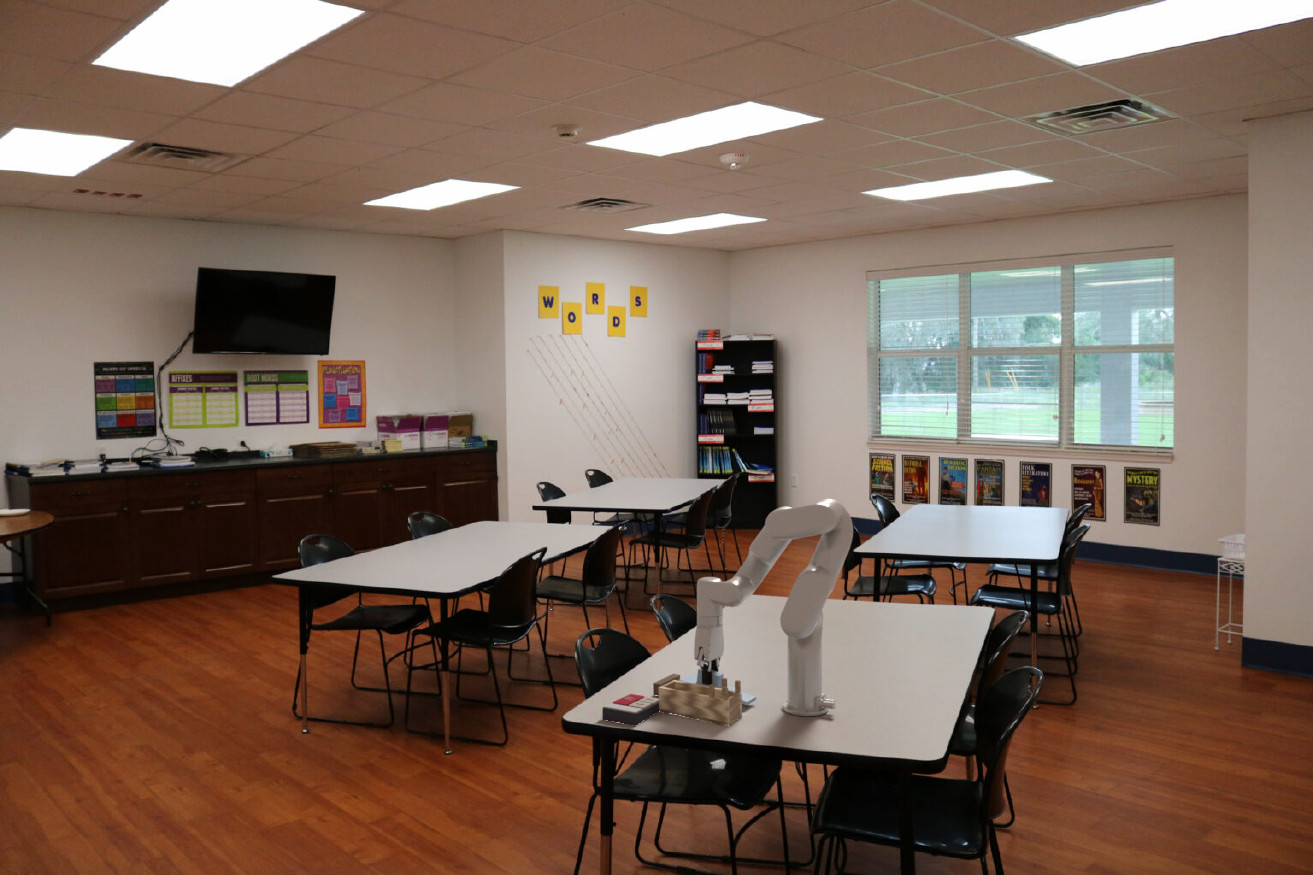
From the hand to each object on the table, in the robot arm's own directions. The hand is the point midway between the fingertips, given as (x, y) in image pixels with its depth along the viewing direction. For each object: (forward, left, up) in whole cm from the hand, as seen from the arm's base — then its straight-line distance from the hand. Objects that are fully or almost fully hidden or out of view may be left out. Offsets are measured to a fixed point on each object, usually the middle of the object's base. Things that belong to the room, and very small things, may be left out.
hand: (710, 681), depth 270 cm
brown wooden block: (+15, 0, -5) cm, 16 cm away
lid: (-3, 0, -2) cm, 3 cm away
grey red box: (+12, +22, -6) cm, 26 cm away
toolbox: (-4, +13, -5) cm, 14 cm away
